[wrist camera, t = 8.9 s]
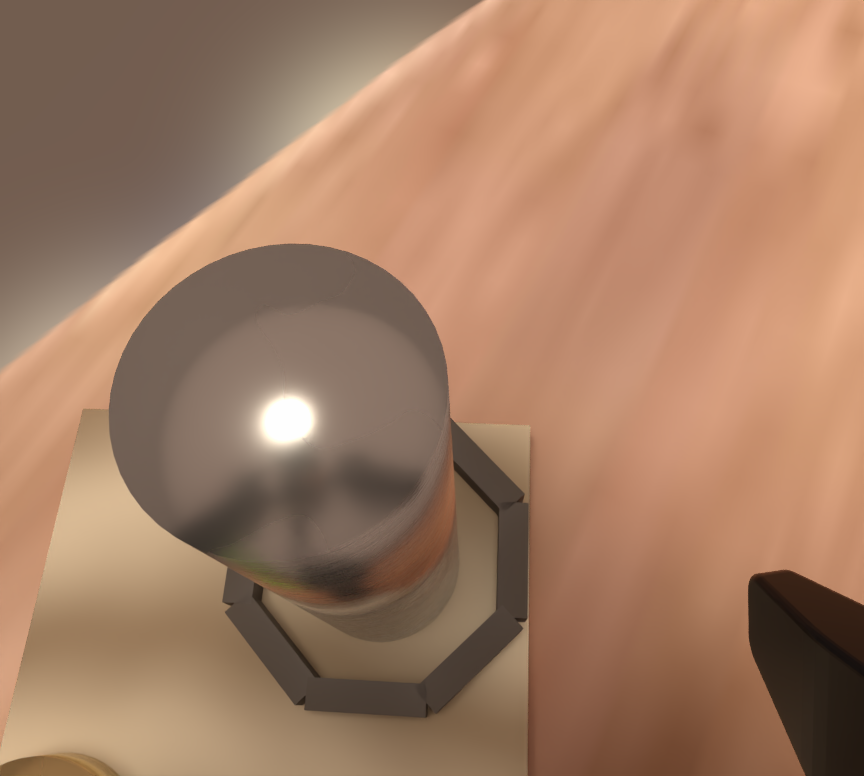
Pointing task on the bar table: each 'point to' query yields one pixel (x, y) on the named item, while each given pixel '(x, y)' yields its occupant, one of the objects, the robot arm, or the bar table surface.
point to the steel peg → (298, 434)
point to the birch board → (271, 645)
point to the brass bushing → (57, 766)
